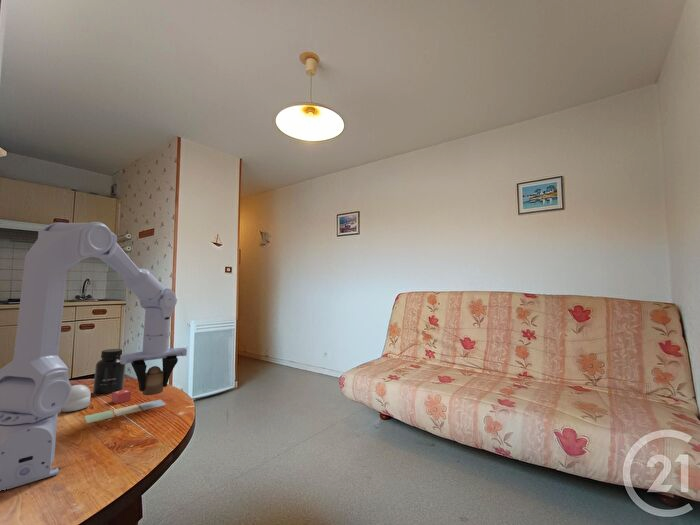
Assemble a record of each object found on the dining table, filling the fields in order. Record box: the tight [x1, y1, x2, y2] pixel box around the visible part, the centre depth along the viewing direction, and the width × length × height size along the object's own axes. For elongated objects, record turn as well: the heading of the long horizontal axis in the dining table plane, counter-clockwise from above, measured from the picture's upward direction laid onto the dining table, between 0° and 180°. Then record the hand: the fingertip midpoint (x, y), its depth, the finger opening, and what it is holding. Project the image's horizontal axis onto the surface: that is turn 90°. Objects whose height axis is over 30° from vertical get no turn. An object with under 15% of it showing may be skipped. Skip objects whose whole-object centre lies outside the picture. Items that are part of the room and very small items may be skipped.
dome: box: [61, 384, 92, 413], centre depth 76 cm, size 6×6×6 cm
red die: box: [111, 388, 132, 405], centre depth 81 cm, size 3×3×3 cm
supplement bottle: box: [92, 348, 126, 396], centre depth 89 cm, size 7×7×12 cm
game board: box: [83, 398, 167, 424], centre depth 76 cm, size 11×16×1 cm
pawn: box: [142, 365, 164, 396], centre depth 80 cm, size 4×4×6 cm
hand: (153, 388), depth 80 cm, fingers closed on pawn, 4 cm apart
